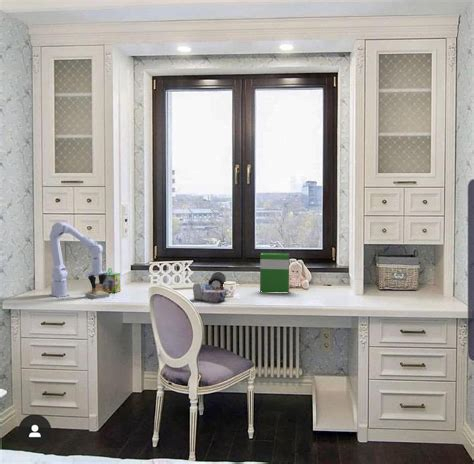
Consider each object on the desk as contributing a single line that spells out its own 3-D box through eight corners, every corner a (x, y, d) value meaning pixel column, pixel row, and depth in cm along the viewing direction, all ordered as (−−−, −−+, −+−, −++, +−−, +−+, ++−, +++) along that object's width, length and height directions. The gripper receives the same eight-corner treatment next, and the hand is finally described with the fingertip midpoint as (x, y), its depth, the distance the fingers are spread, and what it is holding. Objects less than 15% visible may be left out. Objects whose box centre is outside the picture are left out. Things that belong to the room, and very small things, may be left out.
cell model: (198, 279, 347) (230, 281, 341) (198, 297, 347) (230, 300, 341) (190, 282, 334) (223, 285, 328) (190, 300, 335) (222, 304, 329)
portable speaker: (223, 293, 361) (223, 277, 360) (207, 293, 361) (207, 277, 360) (225, 286, 386) (226, 271, 386) (211, 286, 387) (211, 271, 386)
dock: (85, 296, 346) (85, 293, 346) (99, 294, 353) (99, 291, 353) (94, 298, 339) (94, 295, 339) (109, 296, 346) (109, 293, 346)
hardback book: (288, 291, 369) (289, 253, 367) (288, 293, 362) (288, 255, 360) (261, 290, 371) (261, 253, 369) (260, 292, 364) (260, 254, 362)
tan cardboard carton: (90, 293, 347) (90, 283, 346) (97, 292, 350) (97, 283, 350) (96, 294, 342) (96, 285, 342) (104, 293, 346) (104, 284, 345)
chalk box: (115, 293, 357) (114, 269, 356) (101, 292, 359) (100, 269, 358) (121, 290, 366) (120, 267, 365) (107, 290, 368) (107, 267, 367)
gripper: (89, 266, 337) (90, 289, 338) (111, 264, 347) (111, 287, 348) (83, 265, 342) (83, 288, 343) (104, 263, 352) (104, 285, 353)
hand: (97, 287), depth 346 cm, fingers closed on tan cardboard carton, 4 cm apart
